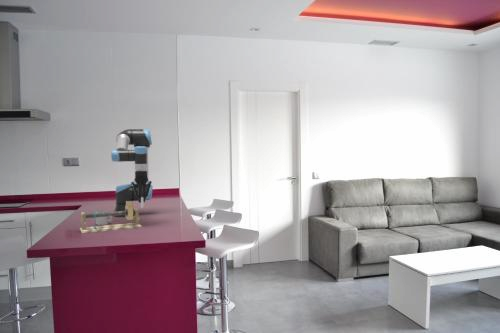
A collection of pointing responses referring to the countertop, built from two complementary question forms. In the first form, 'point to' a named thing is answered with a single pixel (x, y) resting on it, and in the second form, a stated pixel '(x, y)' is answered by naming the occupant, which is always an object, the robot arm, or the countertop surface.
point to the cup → (103, 218)
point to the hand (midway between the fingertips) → (141, 207)
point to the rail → (109, 227)
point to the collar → (129, 210)
